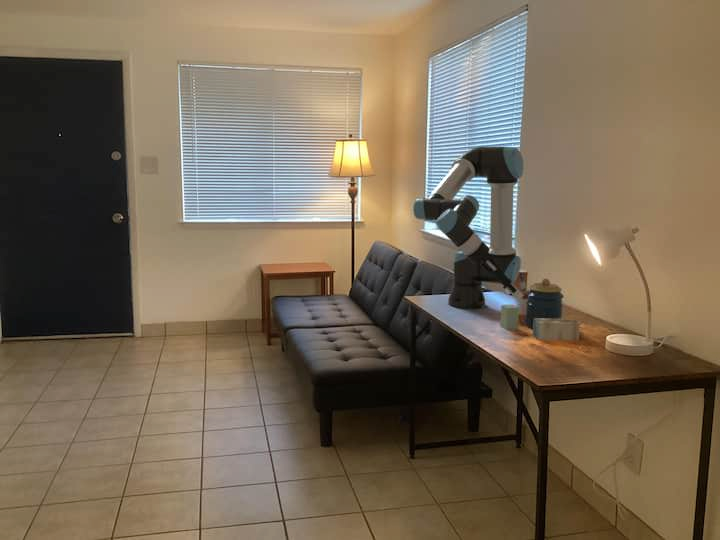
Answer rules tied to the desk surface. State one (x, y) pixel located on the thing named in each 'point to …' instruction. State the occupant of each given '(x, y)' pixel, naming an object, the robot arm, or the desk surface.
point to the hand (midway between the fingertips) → (520, 297)
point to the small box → (521, 282)
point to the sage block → (509, 317)
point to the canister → (543, 302)
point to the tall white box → (555, 329)
